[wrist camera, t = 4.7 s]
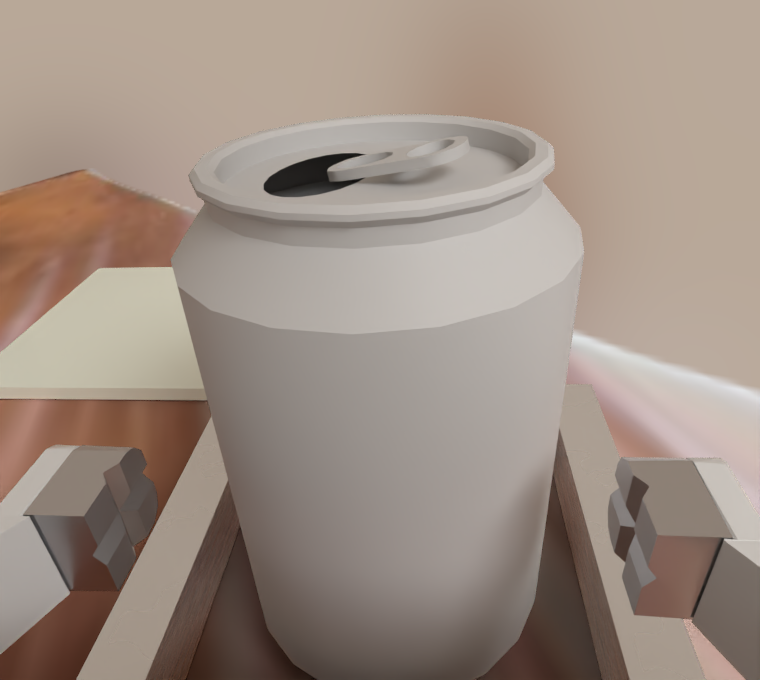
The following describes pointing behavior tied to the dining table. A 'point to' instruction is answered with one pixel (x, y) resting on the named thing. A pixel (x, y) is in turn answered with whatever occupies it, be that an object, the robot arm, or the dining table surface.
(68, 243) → the dining table surface
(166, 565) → the square picture frame
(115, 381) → the tile
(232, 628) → the dining table surface
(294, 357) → the can
